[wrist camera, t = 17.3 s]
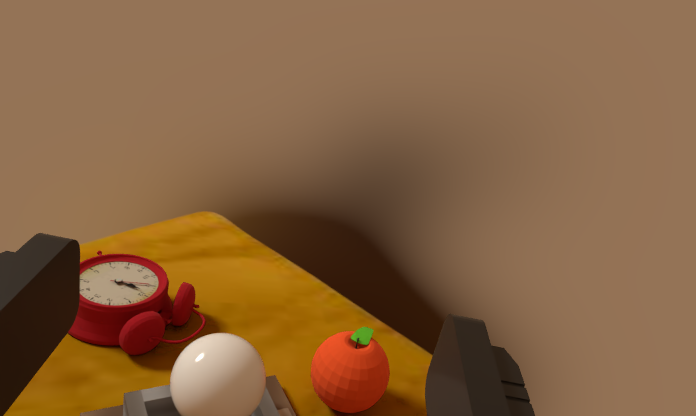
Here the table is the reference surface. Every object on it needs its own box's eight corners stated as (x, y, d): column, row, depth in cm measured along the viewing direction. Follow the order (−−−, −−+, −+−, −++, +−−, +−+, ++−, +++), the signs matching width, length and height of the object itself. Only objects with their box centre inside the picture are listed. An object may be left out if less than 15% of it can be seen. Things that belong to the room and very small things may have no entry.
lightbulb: (262, 485, 42) (286, 368, 37) (172, 511, 39) (187, 386, 34) (235, 420, 47) (253, 309, 42) (153, 438, 44) (164, 320, 39)
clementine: (328, 358, 57) (342, 298, 55) (393, 386, 56) (411, 327, 53) (291, 408, 51) (304, 344, 48) (364, 443, 49) (382, 378, 46)
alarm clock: (106, 239, 62) (225, 261, 57) (115, 291, 64) (230, 317, 59) (21, 281, 53) (153, 313, 48) (34, 340, 55) (162, 377, 50)
